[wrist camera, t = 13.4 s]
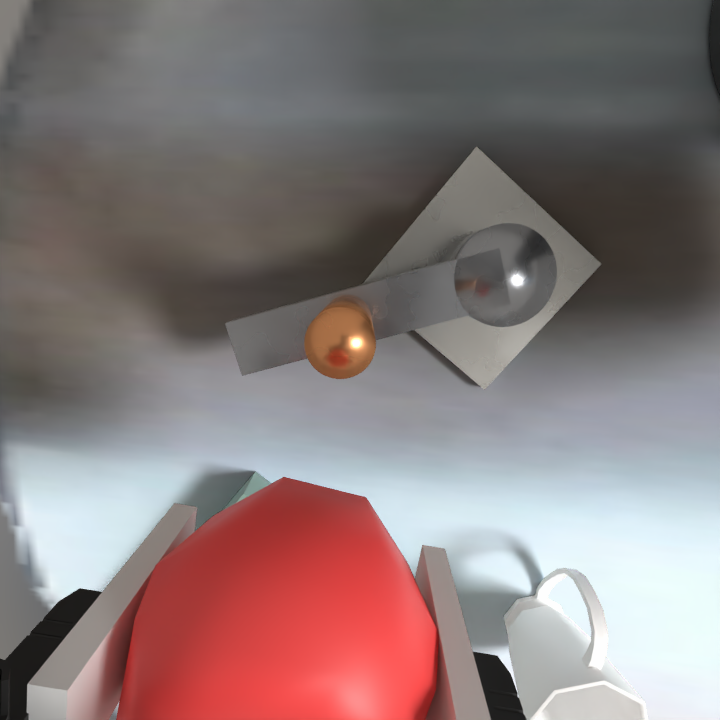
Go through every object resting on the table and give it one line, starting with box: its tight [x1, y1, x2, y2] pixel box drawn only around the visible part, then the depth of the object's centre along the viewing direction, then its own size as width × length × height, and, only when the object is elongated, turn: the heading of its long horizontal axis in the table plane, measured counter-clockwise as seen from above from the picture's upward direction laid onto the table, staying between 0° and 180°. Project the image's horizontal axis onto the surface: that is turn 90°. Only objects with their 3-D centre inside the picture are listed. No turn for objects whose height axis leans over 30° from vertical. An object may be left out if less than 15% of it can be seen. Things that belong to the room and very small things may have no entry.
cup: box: [504, 568, 648, 720], centre depth 28 cm, size 7×10×8 cm
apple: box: [116, 477, 439, 720], centre depth 11 cm, size 8×8×8 cm
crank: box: [225, 223, 557, 379], centre depth 20 cm, size 16×5×10 cm, turn 105°
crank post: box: [363, 147, 601, 390], centre depth 26 cm, size 10×10×3 cm
